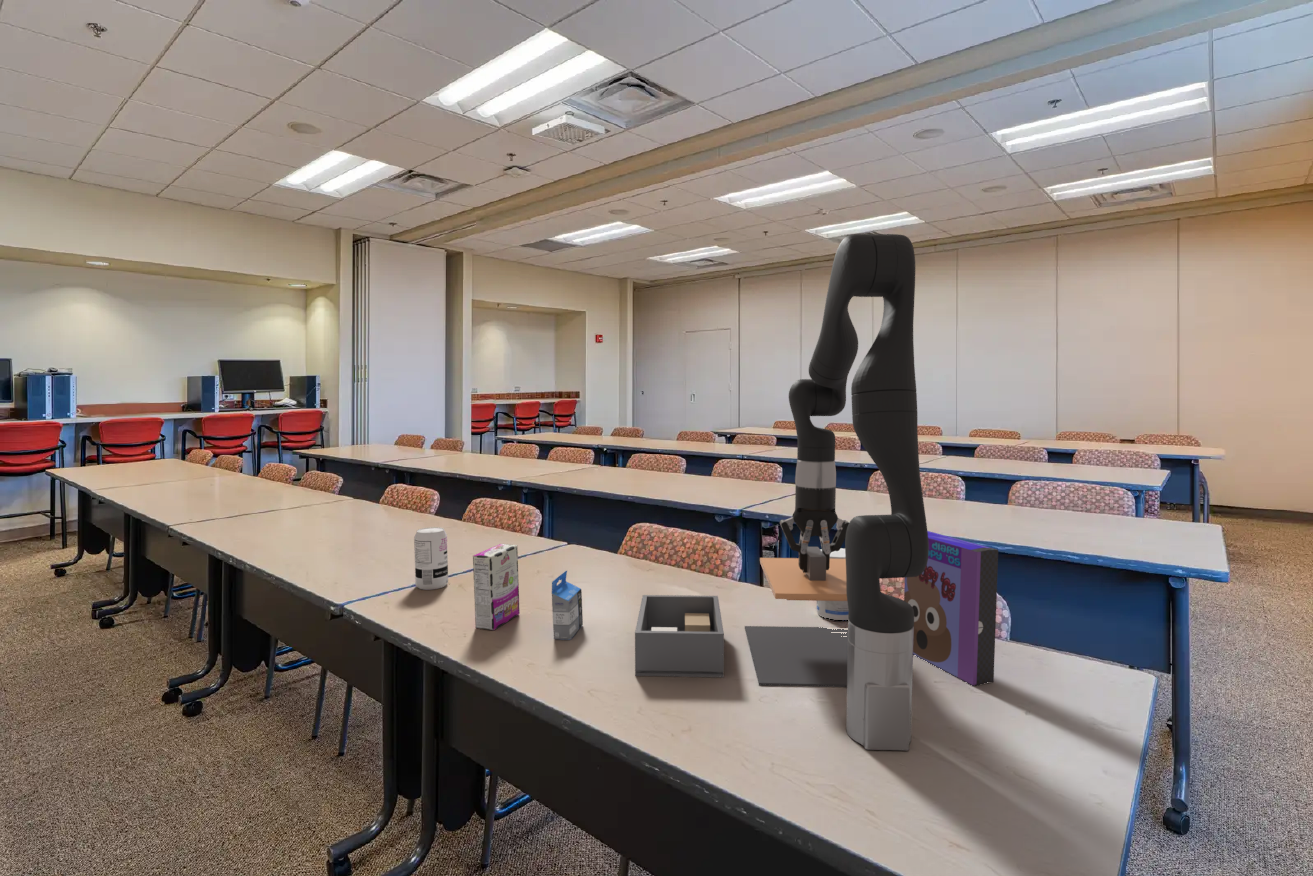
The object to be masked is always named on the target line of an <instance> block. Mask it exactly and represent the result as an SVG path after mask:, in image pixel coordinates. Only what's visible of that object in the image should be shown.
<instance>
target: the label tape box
mask: <svg viewBox="0 0 1313 876" xmlns="http://www.w3.org/2000/svg"><path fill="white" fill-rule="evenodd" d="M567 573H568V570H565V571H564V572H562V573H560V575H558V576H557V577H556V578H555V579H554V580H552V581H551V607H552V608H551V609H552V610H551V612H552V628H553V639H554V640H562V641H563V640H567V641H570V640H572V639H573V637H574V636H575V635H576V634H577V632H578V631H579V630H580V629H581V628H582V627H583V625H584V624H583V623H584V620H583V619H584V618H583V593H582V592H583V591H582V588H580V587H578V586H576V585H575V584H573V583H570V582H568V581H567V576H568V575H567Z"/></svg>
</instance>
